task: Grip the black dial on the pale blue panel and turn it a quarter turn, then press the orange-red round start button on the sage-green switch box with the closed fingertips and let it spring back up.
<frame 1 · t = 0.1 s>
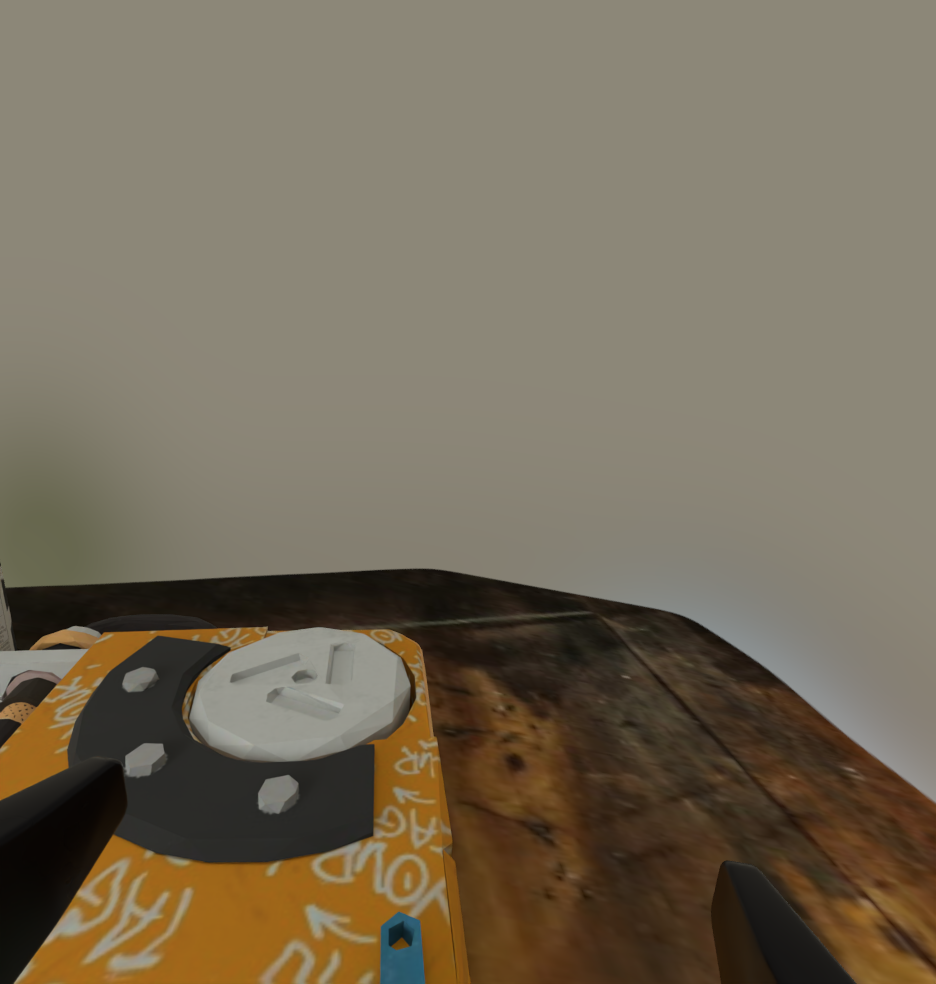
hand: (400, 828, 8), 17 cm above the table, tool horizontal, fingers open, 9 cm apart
device: (189, 881, 25), on the table
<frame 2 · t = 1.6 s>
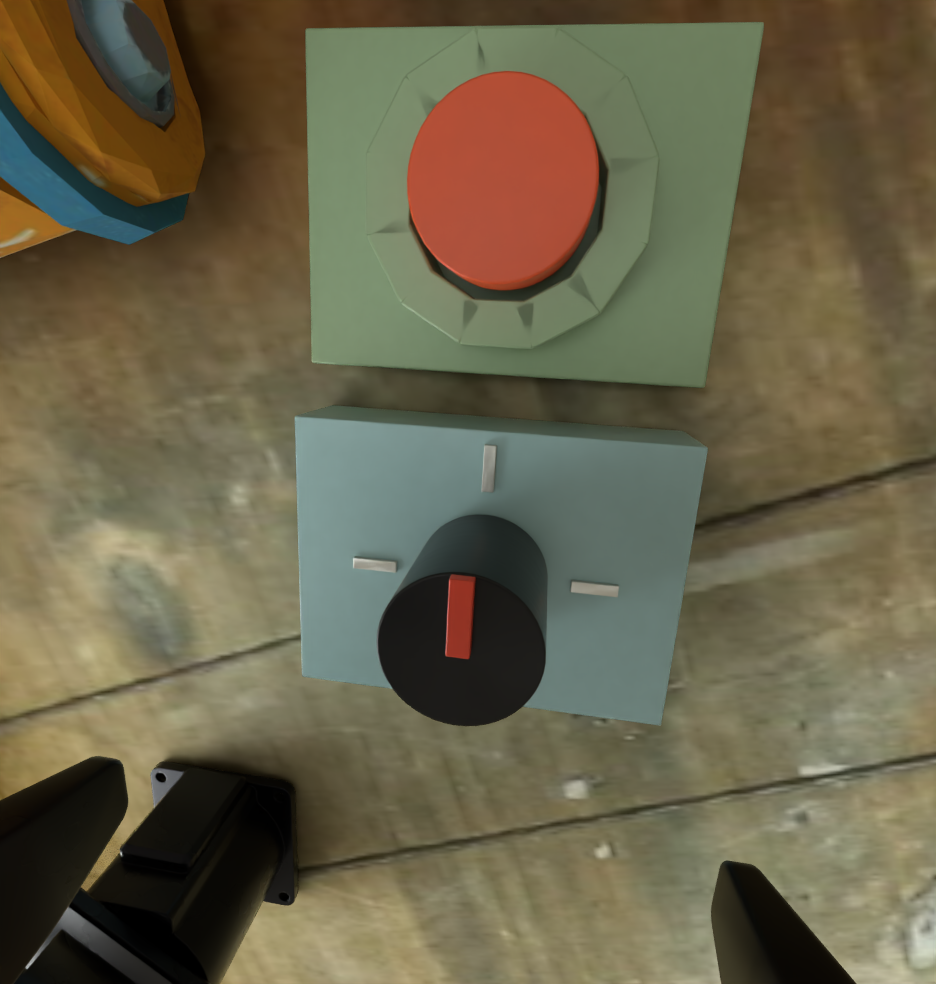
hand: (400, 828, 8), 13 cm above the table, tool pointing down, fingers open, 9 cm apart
switch box: (514, 224, 17), on the table
dial: (471, 611, 15), point 5 cm above the table, hinge at 0.0°
dial panel: (492, 542, 20), on the table
start button: (503, 191, 14), point 4 cm above the table, slide at 0.2 cm
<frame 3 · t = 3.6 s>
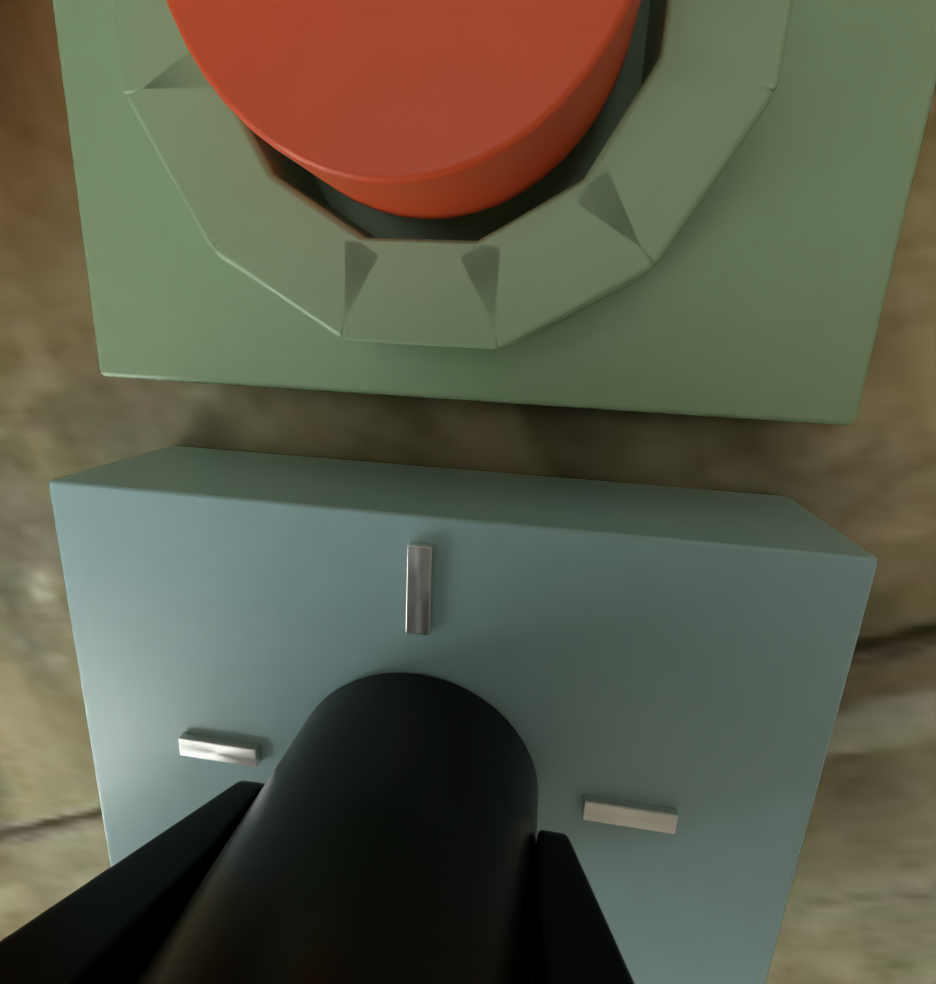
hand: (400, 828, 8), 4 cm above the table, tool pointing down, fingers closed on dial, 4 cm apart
switch box: (473, 111, 9), on the table
dial: (367, 926, 7), point 5 cm above the table, hinge at 0.0°, touching gripper
dial panel: (448, 672, 12), on the table
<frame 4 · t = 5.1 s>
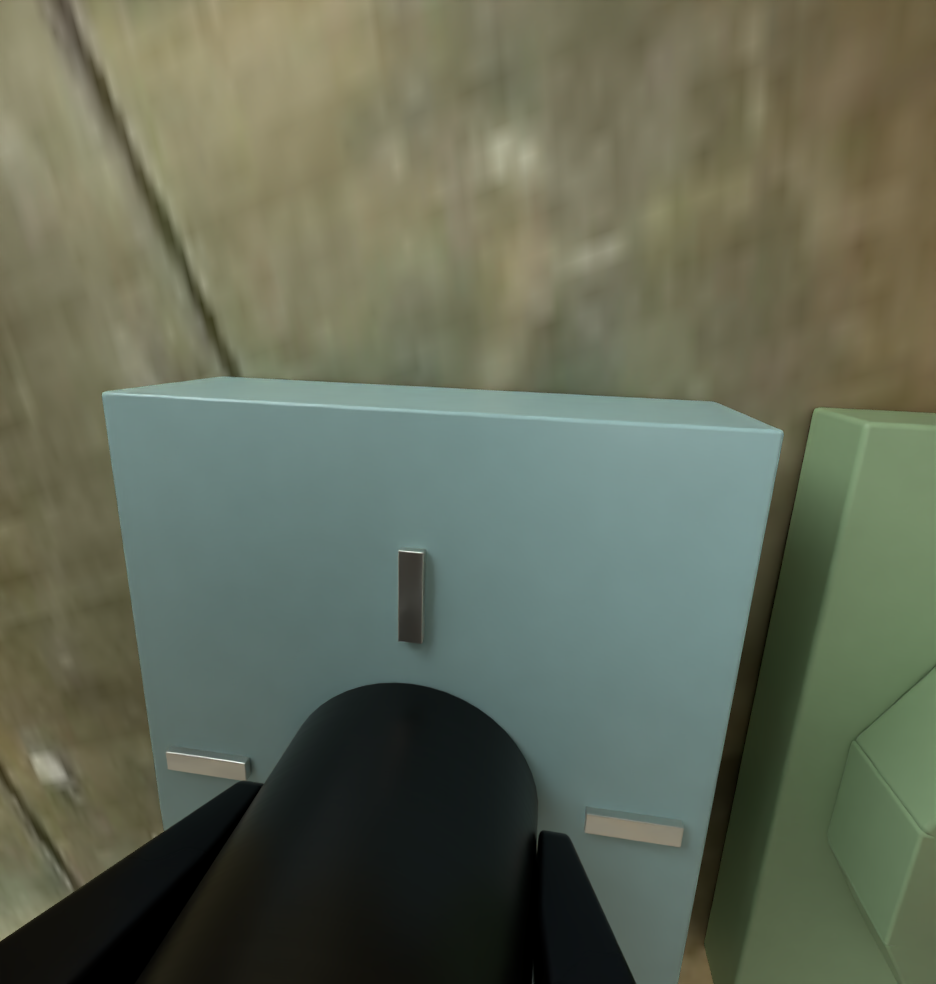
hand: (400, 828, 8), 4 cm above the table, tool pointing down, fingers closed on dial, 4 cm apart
dial: (359, 951, 7), point 5 cm above the table, hinge at 89.2°, touching gripper
dial panel: (446, 678, 12), on the table
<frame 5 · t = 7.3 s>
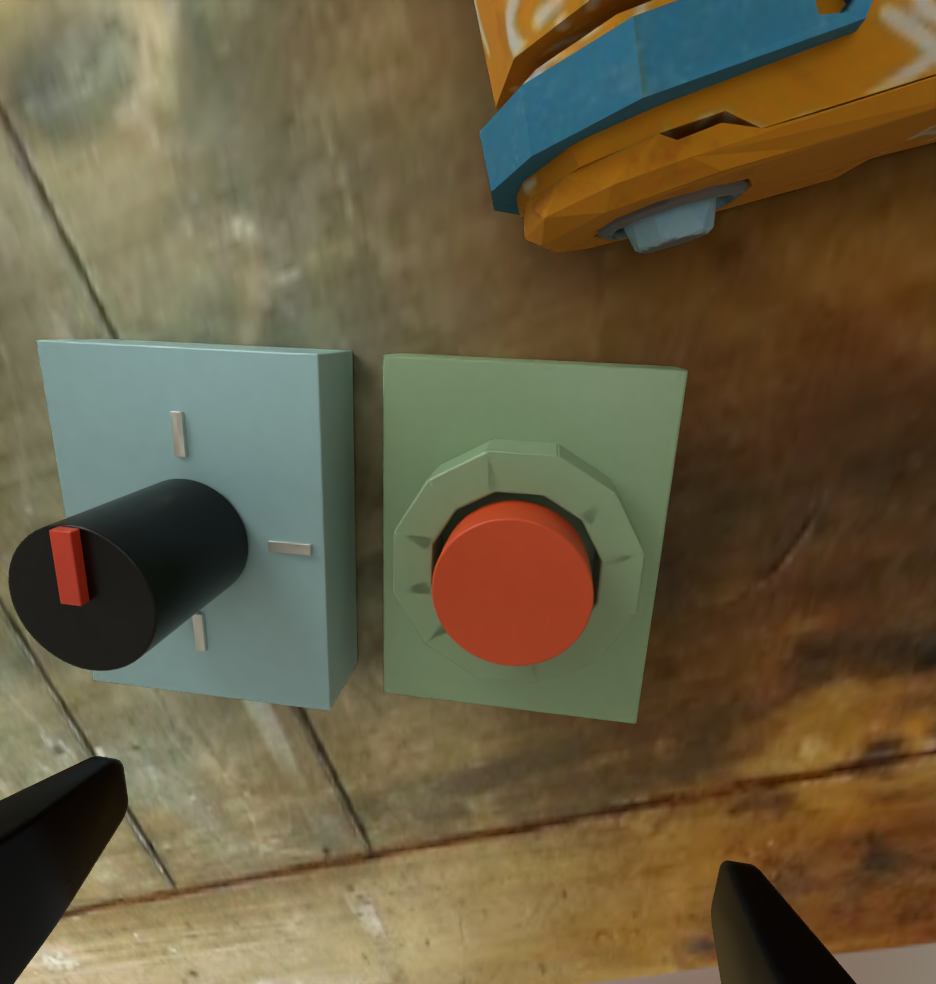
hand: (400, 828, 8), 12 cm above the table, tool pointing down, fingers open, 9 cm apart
switch box: (519, 533, 20), on the table
dial: (139, 567, 16), point 5 cm above the table, hinge at 88.9°
dial panel: (239, 509, 21), on the table
start button: (512, 581, 16), point 4 cm above the table, slide at 0.2 cm
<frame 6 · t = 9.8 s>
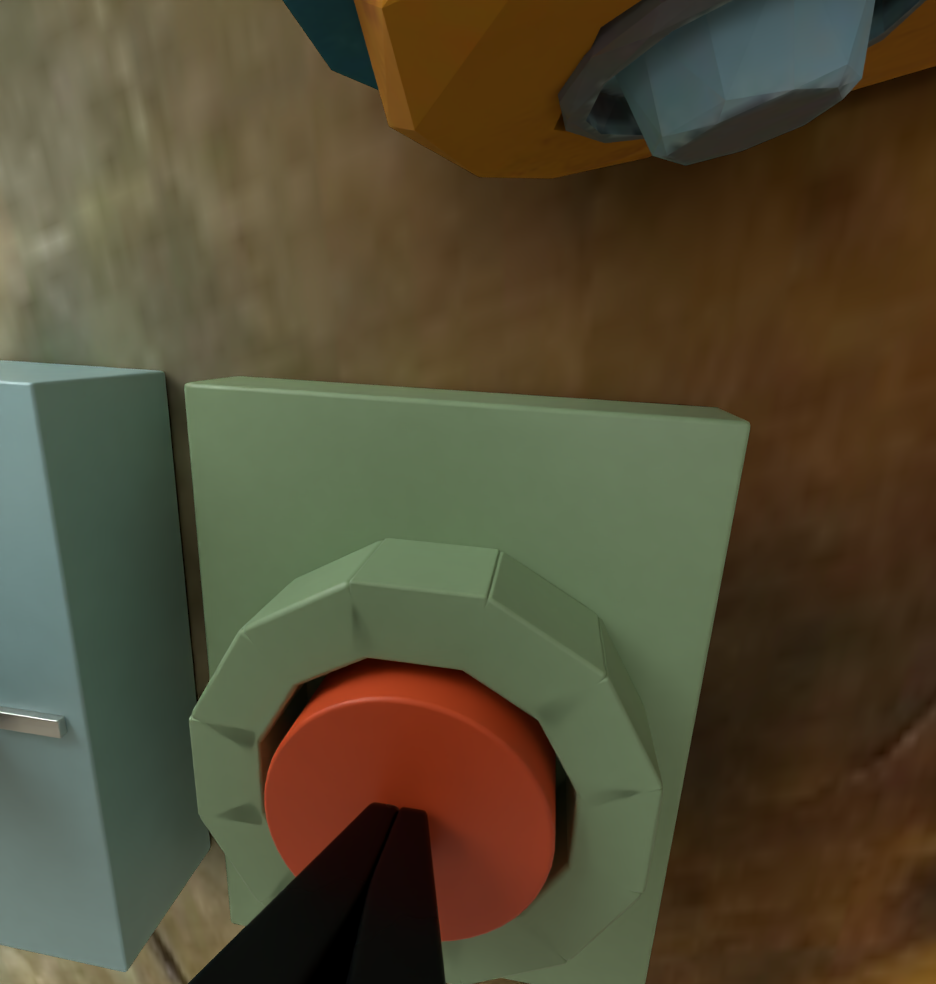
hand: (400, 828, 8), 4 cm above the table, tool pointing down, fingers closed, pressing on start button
switch box: (451, 674, 12), on the table
dial panel: (16, 616, 13), on the table
start button: (417, 784, 9), point 3 cm above the table, slide at -0.8 cm, touching gripper
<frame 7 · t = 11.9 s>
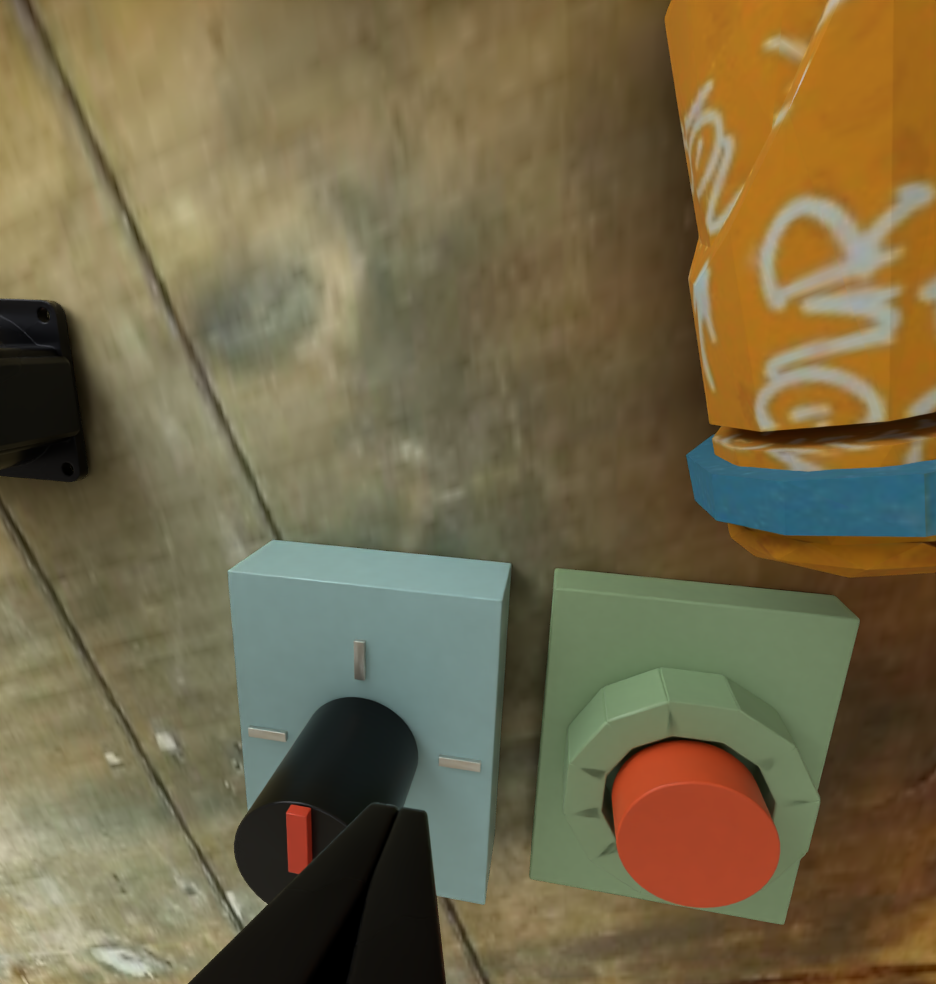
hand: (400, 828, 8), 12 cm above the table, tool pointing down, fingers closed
switch box: (666, 731, 20), on the table
dial: (334, 802, 17), point 5 cm above the table, hinge at 88.9°
dial panel: (388, 693, 22), on the table
start button: (690, 822, 17), point 4 cm above the table, slide at 0.2 cm
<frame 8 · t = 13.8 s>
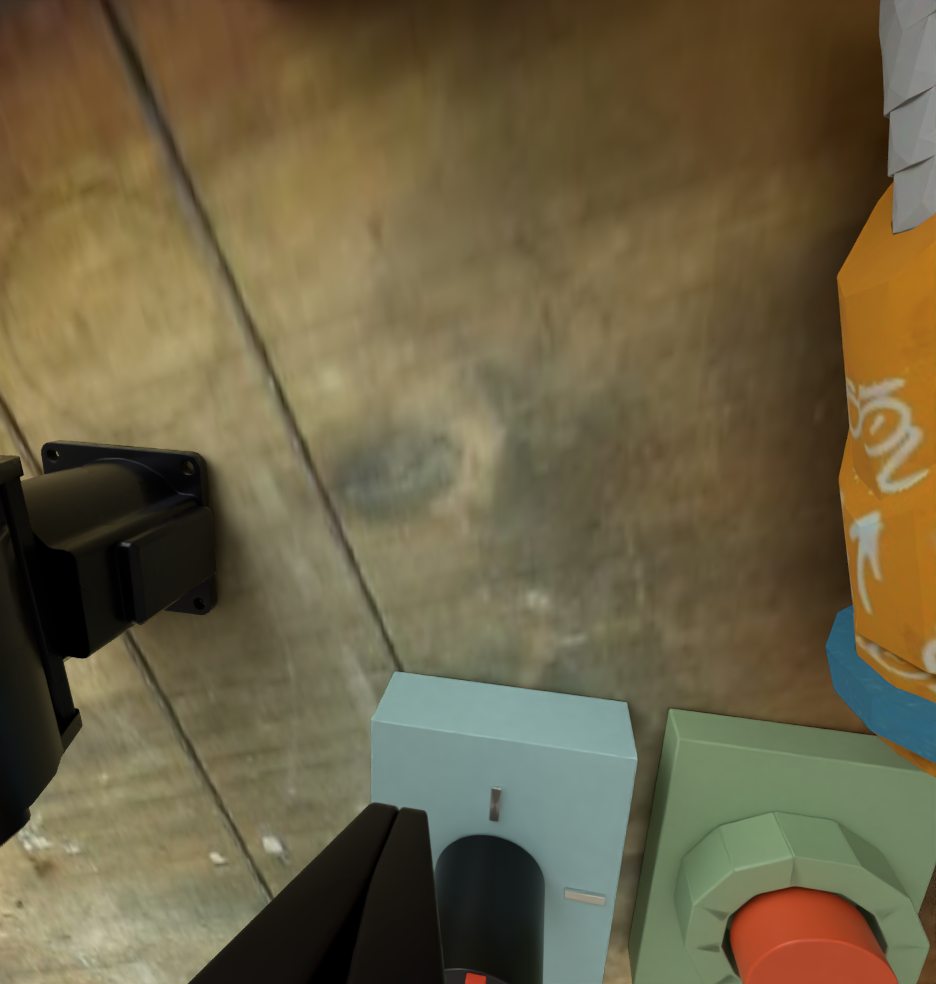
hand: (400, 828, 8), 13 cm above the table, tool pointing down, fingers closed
switch box: (765, 854, 22), on the table
dial: (481, 947, 18), point 5 cm above the table, hinge at 88.9°
dial panel: (497, 811, 23), on the table
start button: (809, 964, 18), point 4 cm above the table, slide at 0.2 cm
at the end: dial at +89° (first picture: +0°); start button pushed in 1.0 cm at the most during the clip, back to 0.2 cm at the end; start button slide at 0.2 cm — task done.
